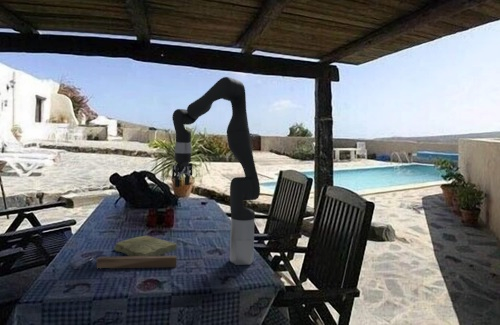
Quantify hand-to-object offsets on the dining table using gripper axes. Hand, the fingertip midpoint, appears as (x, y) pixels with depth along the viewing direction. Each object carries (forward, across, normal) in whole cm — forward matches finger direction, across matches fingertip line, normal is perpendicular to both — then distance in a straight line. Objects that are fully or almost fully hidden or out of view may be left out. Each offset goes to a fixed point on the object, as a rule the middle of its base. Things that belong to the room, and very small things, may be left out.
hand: (182, 186), depth 177 cm
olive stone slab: (+25, -26, +2) cm, 36 cm away
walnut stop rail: (+24, -42, -8) cm, 49 cm away
